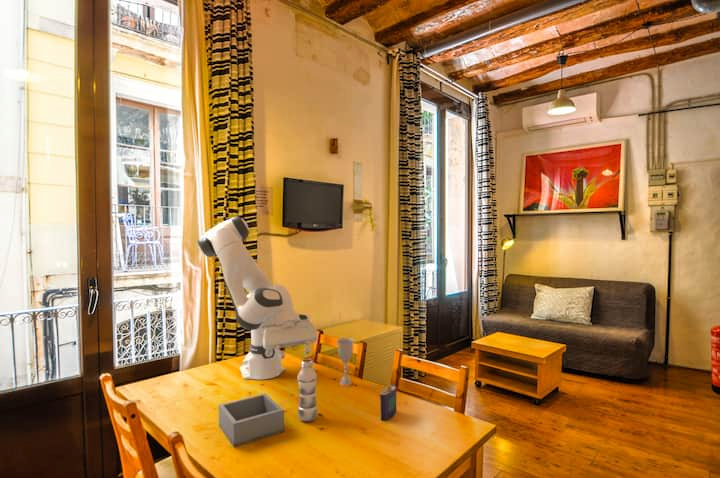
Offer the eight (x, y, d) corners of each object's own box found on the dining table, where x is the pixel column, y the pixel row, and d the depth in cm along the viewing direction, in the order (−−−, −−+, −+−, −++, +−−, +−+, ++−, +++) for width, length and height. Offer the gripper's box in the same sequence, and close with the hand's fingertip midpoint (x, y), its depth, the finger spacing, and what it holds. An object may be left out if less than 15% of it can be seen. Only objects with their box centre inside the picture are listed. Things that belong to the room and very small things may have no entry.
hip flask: (391, 409, 143) (391, 379, 143) (399, 411, 141) (398, 381, 141) (378, 420, 135) (378, 388, 135) (386, 422, 133) (386, 390, 133)
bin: (218, 425, 132) (218, 404, 132) (265, 413, 141) (265, 393, 141) (233, 447, 119) (233, 423, 119) (284, 431, 128) (283, 409, 128)
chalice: (346, 378, 173) (346, 337, 173) (357, 382, 169) (357, 340, 168) (333, 383, 168) (333, 340, 168) (344, 387, 163) (344, 343, 163)
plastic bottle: (314, 424, 132) (313, 364, 132) (295, 423, 134) (294, 363, 133) (320, 415, 139) (319, 358, 138) (301, 414, 140) (301, 357, 140)
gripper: (260, 321, 145) (268, 355, 137) (313, 315, 155) (323, 346, 146) (257, 331, 149) (265, 364, 141) (309, 324, 159) (319, 355, 150)
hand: (295, 355), depth 144 cm, fingers open, 8 cm apart
